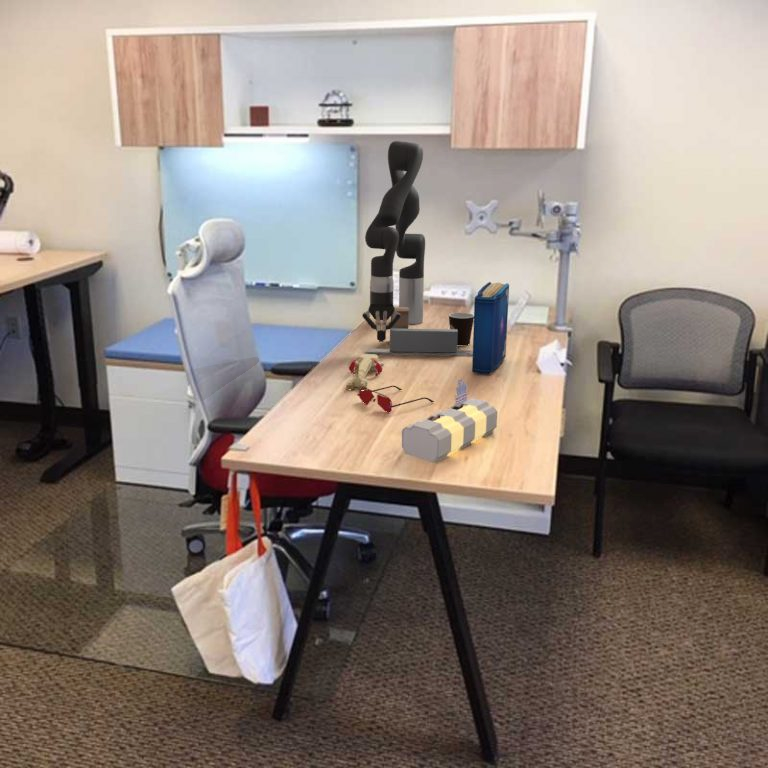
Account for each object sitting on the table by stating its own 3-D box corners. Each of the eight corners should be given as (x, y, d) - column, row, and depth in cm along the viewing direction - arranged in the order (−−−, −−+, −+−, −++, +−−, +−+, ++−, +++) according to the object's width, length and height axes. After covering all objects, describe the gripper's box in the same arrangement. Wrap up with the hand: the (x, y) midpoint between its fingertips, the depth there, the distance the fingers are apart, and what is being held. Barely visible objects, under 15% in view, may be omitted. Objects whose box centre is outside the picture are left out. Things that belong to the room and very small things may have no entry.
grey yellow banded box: (461, 424, 208) (463, 375, 204) (496, 433, 202) (498, 383, 198) (401, 453, 189) (402, 400, 185) (438, 465, 183) (439, 409, 179)
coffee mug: (473, 347, 278) (475, 318, 275) (448, 346, 278) (449, 318, 275) (471, 338, 289) (472, 310, 286) (446, 338, 289) (447, 310, 286)
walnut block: (390, 340, 285) (391, 307, 282) (408, 341, 285) (408, 307, 281) (390, 345, 279) (390, 311, 275) (408, 345, 279) (408, 311, 275)
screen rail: (365, 351, 272) (365, 348, 272) (486, 352, 271) (486, 350, 271) (365, 354, 268) (365, 352, 268) (487, 356, 267) (487, 353, 267)
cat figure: (373, 396, 232) (386, 365, 255) (373, 367, 229) (386, 338, 252) (339, 394, 234) (355, 363, 256) (338, 365, 230) (355, 336, 253)
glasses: (356, 403, 223) (356, 385, 222) (401, 391, 233) (402, 374, 232) (389, 417, 213) (389, 399, 211) (435, 404, 223) (436, 386, 222)
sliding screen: (389, 349, 271) (390, 328, 269) (456, 350, 271) (457, 329, 268) (389, 351, 268) (389, 330, 266) (457, 352, 268) (457, 331, 266)
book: (492, 377, 245) (496, 295, 237) (469, 375, 247) (472, 293, 240) (505, 358, 265) (510, 282, 257) (484, 356, 267) (487, 280, 259)
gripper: (402, 287, 267) (401, 338, 272) (362, 286, 268) (361, 338, 273) (402, 291, 260) (401, 344, 265) (360, 291, 260) (360, 344, 266)
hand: (381, 341), depth 269 cm, fingers closed
